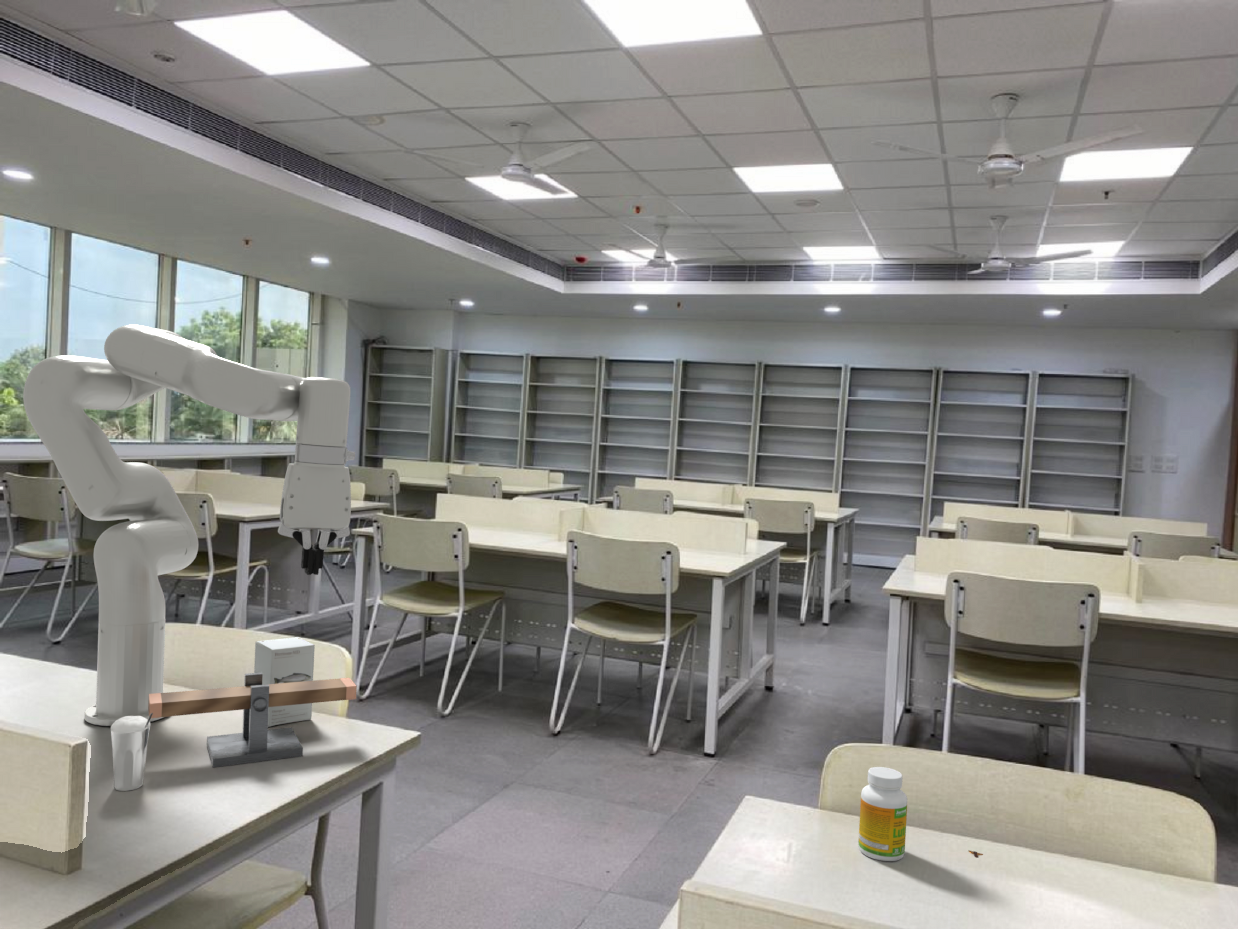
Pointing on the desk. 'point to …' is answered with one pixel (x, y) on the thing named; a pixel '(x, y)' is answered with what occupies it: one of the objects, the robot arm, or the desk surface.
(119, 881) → the desk surface
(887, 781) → the supplement bottle
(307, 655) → the supplement box
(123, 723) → the milkshake
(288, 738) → the beam stand
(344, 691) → the beam
